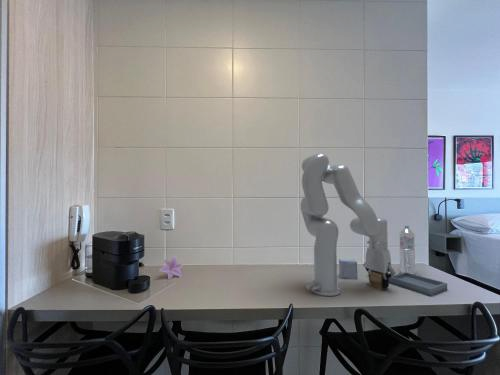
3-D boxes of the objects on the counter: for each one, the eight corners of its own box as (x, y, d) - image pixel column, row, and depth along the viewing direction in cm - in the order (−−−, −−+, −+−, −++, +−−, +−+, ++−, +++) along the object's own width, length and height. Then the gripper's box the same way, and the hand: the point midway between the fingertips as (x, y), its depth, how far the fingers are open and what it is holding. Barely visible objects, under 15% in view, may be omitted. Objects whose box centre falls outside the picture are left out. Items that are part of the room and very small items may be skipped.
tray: (430, 296, 105) (430, 289, 105) (388, 283, 120) (388, 276, 120) (447, 290, 111) (447, 283, 112) (405, 278, 127) (405, 272, 127)
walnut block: (380, 290, 112) (380, 274, 112) (370, 286, 116) (370, 271, 116) (387, 288, 114) (387, 272, 114) (377, 284, 118) (376, 269, 119)
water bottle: (400, 270, 140) (399, 224, 140) (414, 272, 136) (414, 225, 137) (399, 273, 134) (399, 226, 134) (415, 275, 130) (414, 227, 131)
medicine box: (354, 276, 130) (354, 259, 130) (357, 279, 126) (357, 261, 126) (338, 275, 131) (338, 258, 131) (341, 278, 127) (341, 261, 127)
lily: (155, 282, 125) (160, 267, 122) (158, 266, 136) (163, 252, 133) (178, 286, 129) (185, 272, 126) (180, 271, 140) (186, 257, 137)
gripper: (356, 242, 121) (356, 280, 121) (391, 250, 106) (392, 293, 106) (366, 241, 125) (367, 278, 124) (402, 248, 110) (402, 290, 109)
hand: (378, 284), depth 115 cm, fingers open, 5 cm apart
